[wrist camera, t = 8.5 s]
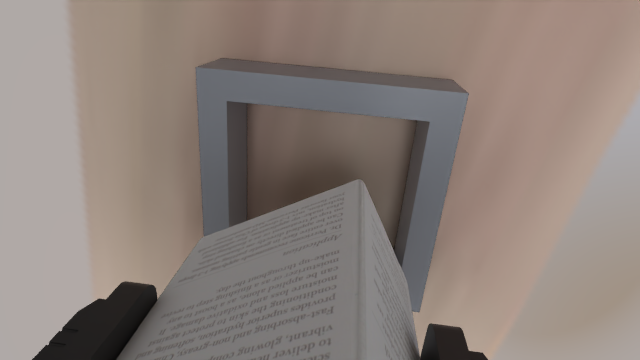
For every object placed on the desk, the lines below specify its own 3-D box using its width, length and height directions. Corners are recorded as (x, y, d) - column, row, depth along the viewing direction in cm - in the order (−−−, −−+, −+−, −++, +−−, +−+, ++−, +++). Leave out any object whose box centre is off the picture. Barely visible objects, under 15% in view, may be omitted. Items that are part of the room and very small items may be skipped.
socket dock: (221, 58, 18) (195, 67, 15) (452, 79, 17) (468, 93, 15) (225, 250, 22) (206, 284, 20) (412, 273, 22) (419, 312, 19)
